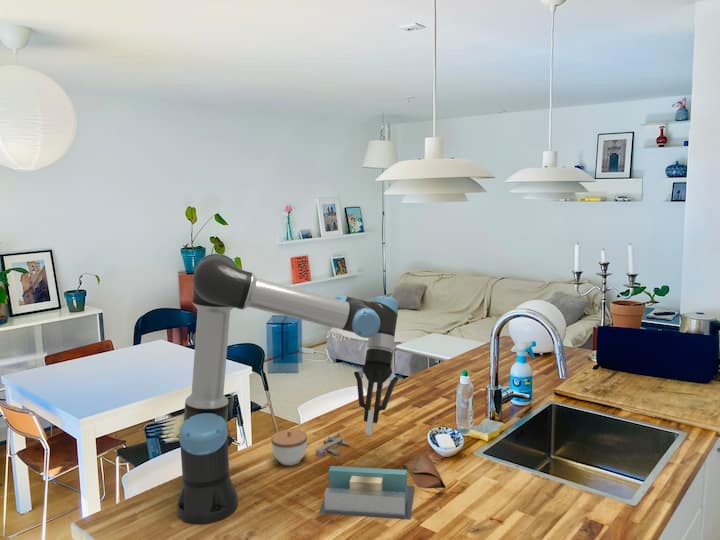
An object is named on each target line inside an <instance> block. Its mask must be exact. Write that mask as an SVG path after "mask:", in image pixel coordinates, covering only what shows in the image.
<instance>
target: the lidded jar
mask: <svg viewBox="0 0 720 540" xmlns="http://www.w3.org/2000/svg"><path fill="white" fill-rule="evenodd" d="M270 438H271V439H270V440H271V441H270V442H271V449H272V454H273V456H274V457H275V458H276V460H277V461H278V462H280V464H281V465H283V466H294V465H298V464H299V463H300V462H301V460H302V459H303V458H304V456H305V454H306V452H307V448H308V435H307V433H306V432H305V431H303V430H300V429H293V428H292V429H284V430H280V431H277V432H274V434H273V435H272V436H271V437H270Z"/></svg>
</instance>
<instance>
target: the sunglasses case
mask: <svg viewBox="0 0 720 540" xmlns="http://www.w3.org/2000/svg"><path fill="white" fill-rule="evenodd" d="M402 466H403V469H404V470H407V471H408V472H409V474H410V476H411V478H412V479H411V480H412V481H413V483H414V486H415V487H418V488H423V489H443V488H444V489H445V488H446V485H445V482H444V481H443V479H442V477H441V475H440V473H439V471H438V469H437V468H436V466H435V464H434V463H433V460H432V459H431V458H430V457H429V455H428V453H427V452H425V451H424V452H423V453H422V454H421V455H420V456H417V457H415V458H413V459H411V460H410V461H408V462H406V463H404V464H402Z"/></svg>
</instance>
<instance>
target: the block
mask: <svg viewBox="0 0 720 540" xmlns="http://www.w3.org/2000/svg"><path fill="white" fill-rule="evenodd" d="M350 489H357V490H373V491H383V478H382V477H364V476H351V479H350Z"/></svg>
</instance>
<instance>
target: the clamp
mask: <svg viewBox="0 0 720 540" xmlns="http://www.w3.org/2000/svg"><path fill="white" fill-rule="evenodd" d="M340 435H341V433H340V432H337V433H336V434H335V435H332V436H330V435H329V436H328V437H327V439H324V440H323V443H324V444H325V445H323V446H321V447H318V448H317V449H316V450H315V456H316V457H318V458H320V457H321V459H324V457H327V453H326V452H328V453H331V454H332V455H333V456H336V457H338V456H340V454H341V450H338V449H336V448H338V447H341V446H347V447H349V446H351V445H350V444H349V443H347V442H345V441H344V439H343V438H342V437H340ZM338 436H339V437H338ZM336 437H338V438H337V439H336ZM327 442H328V443H327ZM326 443H327V444H326ZM336 444H337V445H338V446H336V448H335V447H334V448H335V449H333V450H332V449H329V448H331V447H333V446H334V445H336Z"/></svg>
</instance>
